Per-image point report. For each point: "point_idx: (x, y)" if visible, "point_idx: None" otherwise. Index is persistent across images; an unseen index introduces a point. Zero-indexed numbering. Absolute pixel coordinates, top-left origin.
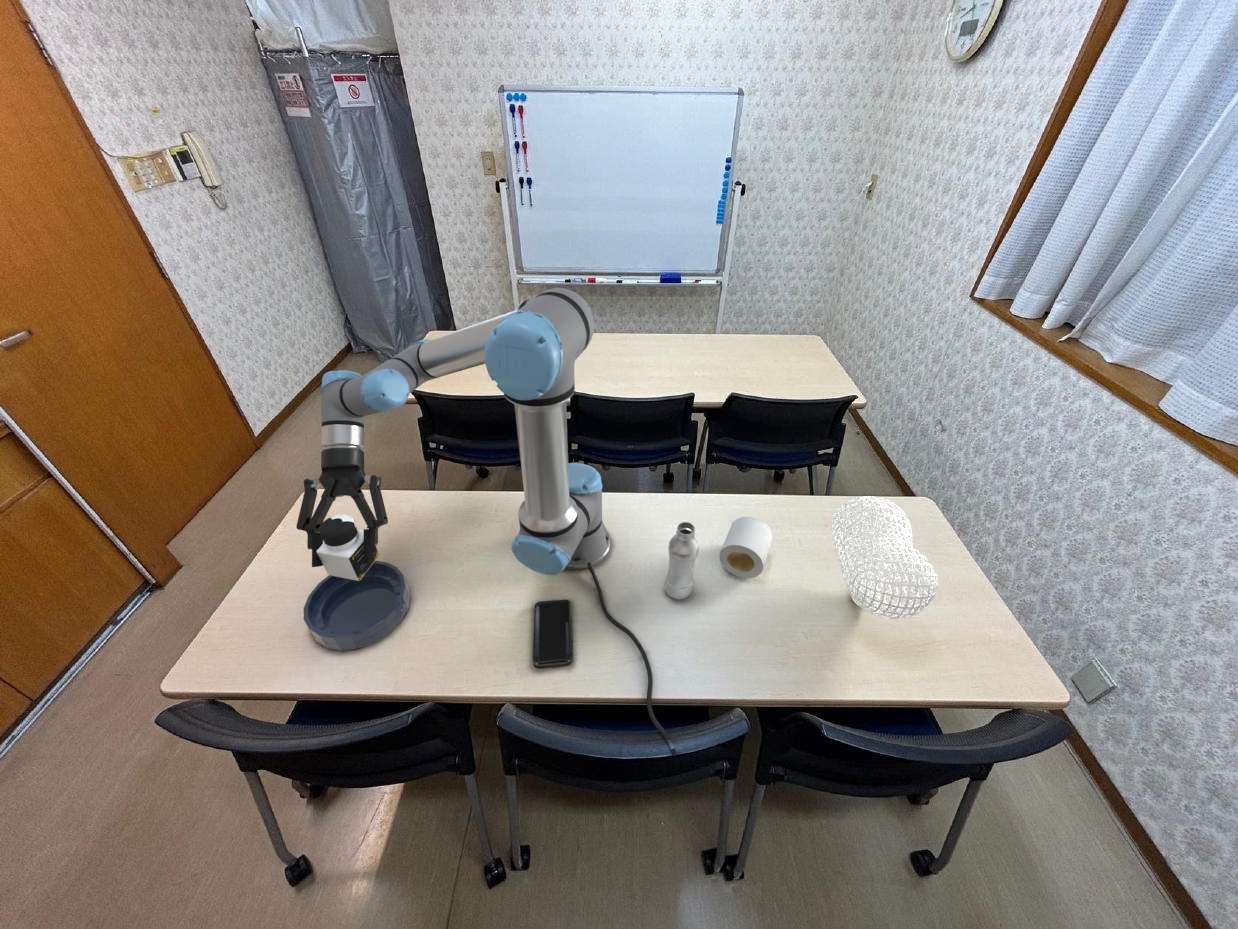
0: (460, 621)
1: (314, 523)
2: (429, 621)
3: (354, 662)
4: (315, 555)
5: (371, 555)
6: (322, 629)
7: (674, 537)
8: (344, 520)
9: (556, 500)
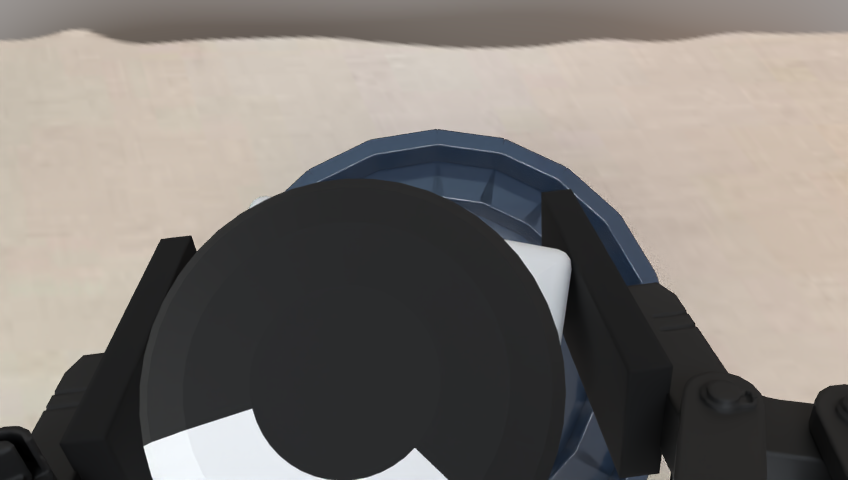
0: (9, 313)
1: (696, 460)
2: None
3: (375, 129)
4: (567, 236)
5: None
6: (534, 210)
7: None
8: (232, 435)
9: None
